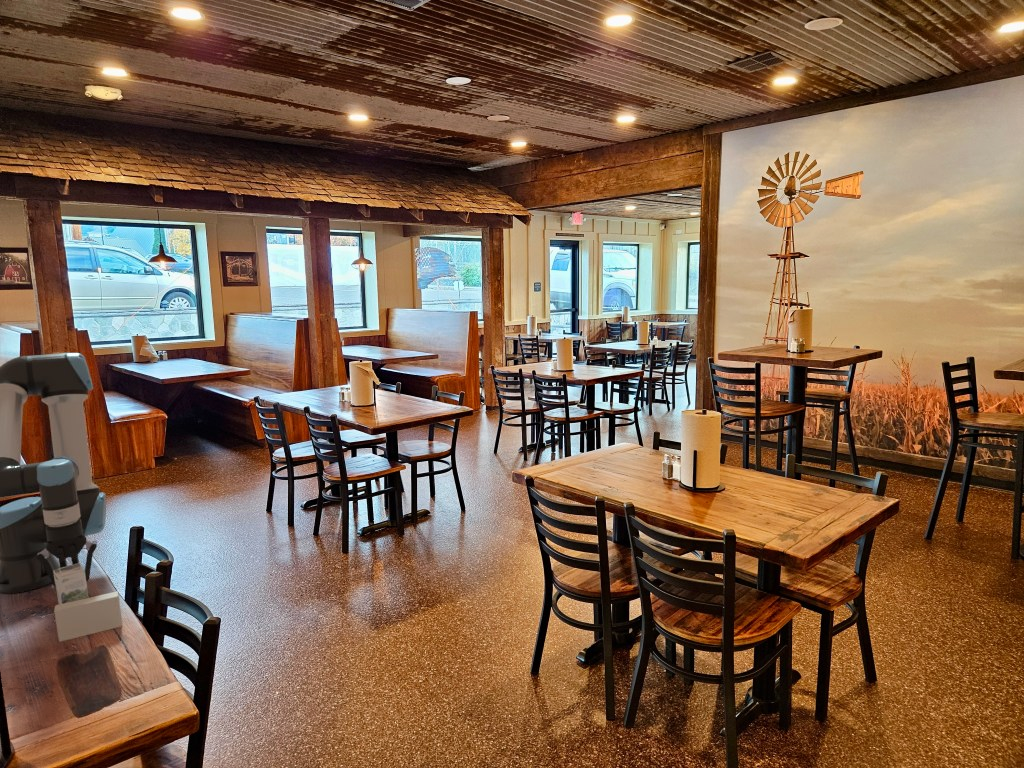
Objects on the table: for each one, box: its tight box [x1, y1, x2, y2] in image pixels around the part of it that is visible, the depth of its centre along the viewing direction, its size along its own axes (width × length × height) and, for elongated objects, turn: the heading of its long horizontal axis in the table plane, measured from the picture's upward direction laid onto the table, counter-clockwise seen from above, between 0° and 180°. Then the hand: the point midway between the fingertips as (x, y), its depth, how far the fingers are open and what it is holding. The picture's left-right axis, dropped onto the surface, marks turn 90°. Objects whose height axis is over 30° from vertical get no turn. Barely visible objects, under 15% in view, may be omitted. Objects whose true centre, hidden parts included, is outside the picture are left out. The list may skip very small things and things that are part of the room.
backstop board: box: [53, 590, 123, 643], centre depth 162 cm, size 3×13×8 cm, turn 120°
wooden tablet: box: [56, 644, 122, 718], centre depth 143 cm, size 26×2×10 cm
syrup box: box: [53, 562, 89, 605], centre depth 166 cm, size 6×6×14 cm
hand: (76, 609), depth 170 cm, fingers closed
